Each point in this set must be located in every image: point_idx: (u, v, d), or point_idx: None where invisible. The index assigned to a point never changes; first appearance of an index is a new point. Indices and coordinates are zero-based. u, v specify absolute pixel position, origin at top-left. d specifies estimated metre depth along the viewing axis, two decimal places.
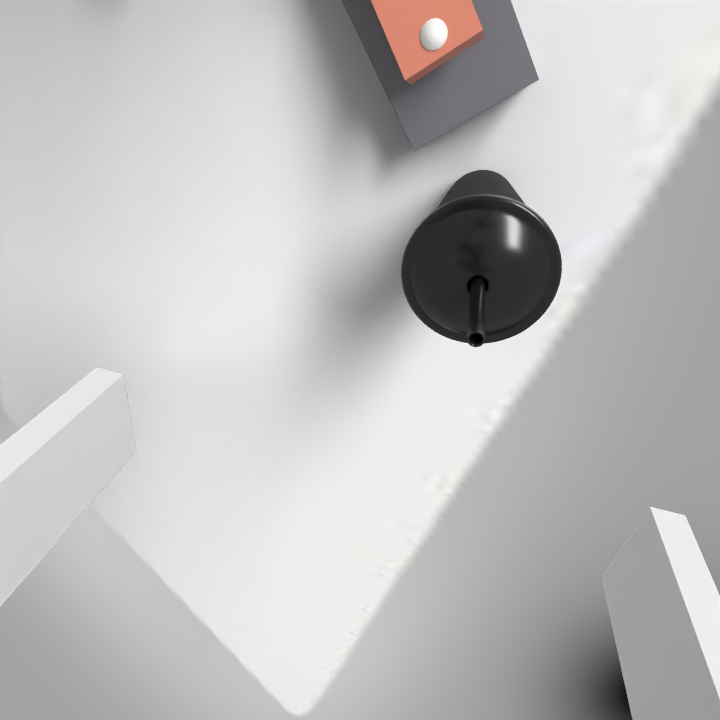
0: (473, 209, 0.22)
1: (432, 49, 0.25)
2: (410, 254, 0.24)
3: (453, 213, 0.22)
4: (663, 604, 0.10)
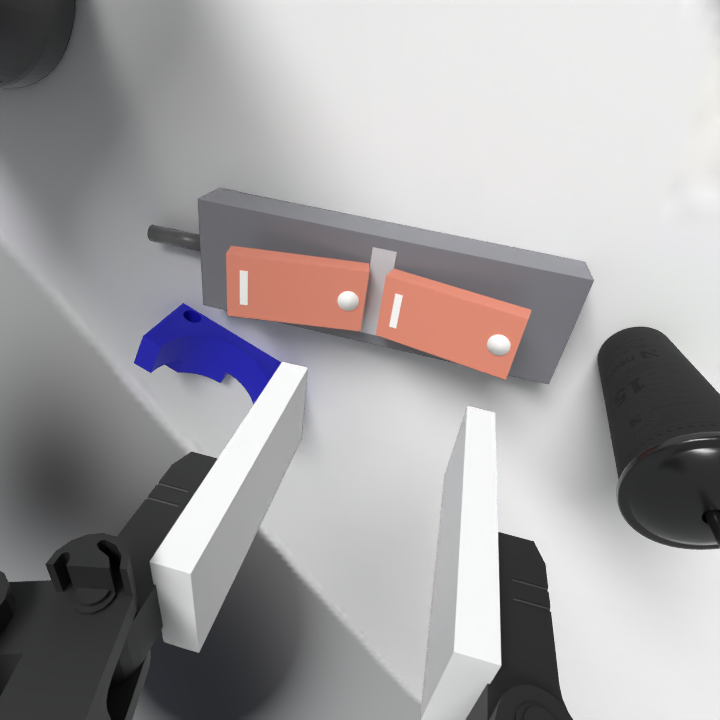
0: (650, 468, 0.23)
1: (506, 351, 0.30)
2: (631, 518, 0.25)
3: (636, 479, 0.24)
4: (458, 474, 0.12)
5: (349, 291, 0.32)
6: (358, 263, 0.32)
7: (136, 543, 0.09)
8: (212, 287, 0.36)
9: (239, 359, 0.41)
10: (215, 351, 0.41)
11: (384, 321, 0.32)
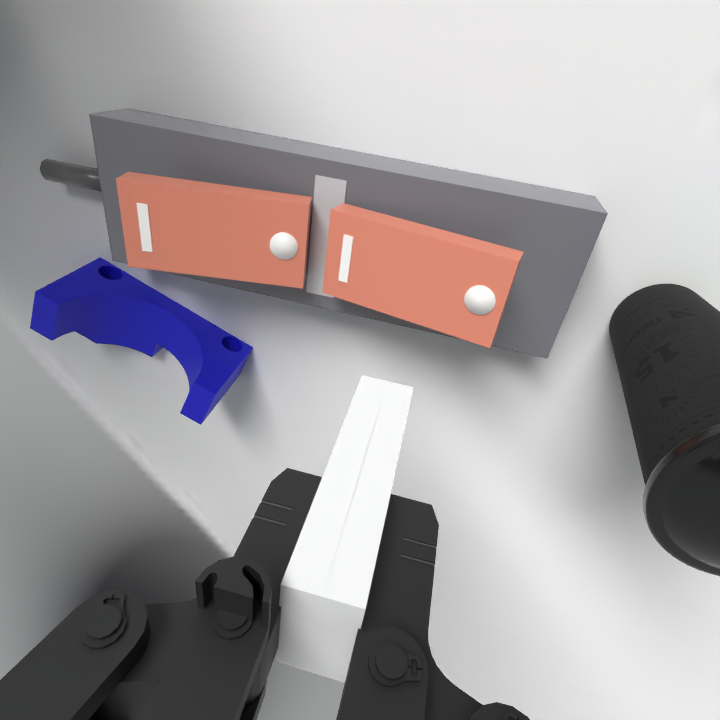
0: (696, 465, 0.16)
1: (490, 309, 0.22)
2: (664, 537, 0.18)
3: (675, 481, 0.16)
4: None
5: (285, 232, 0.24)
6: (296, 196, 0.24)
7: None
8: (120, 236, 0.28)
9: (171, 325, 0.33)
10: (140, 316, 0.33)
11: (331, 274, 0.25)
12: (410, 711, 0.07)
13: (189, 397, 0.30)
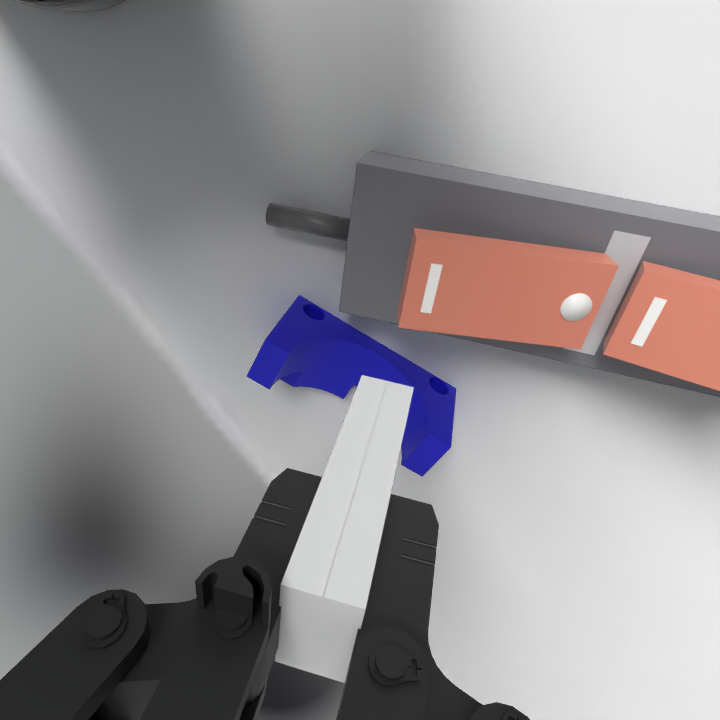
0: None
1: None
2: None
3: None
4: None
5: (582, 293, 0.22)
6: (593, 253, 0.22)
7: None
8: (356, 287, 0.26)
9: (375, 367, 0.31)
10: (343, 358, 0.31)
11: (622, 336, 0.23)
12: (410, 711, 0.07)
13: (417, 449, 0.28)
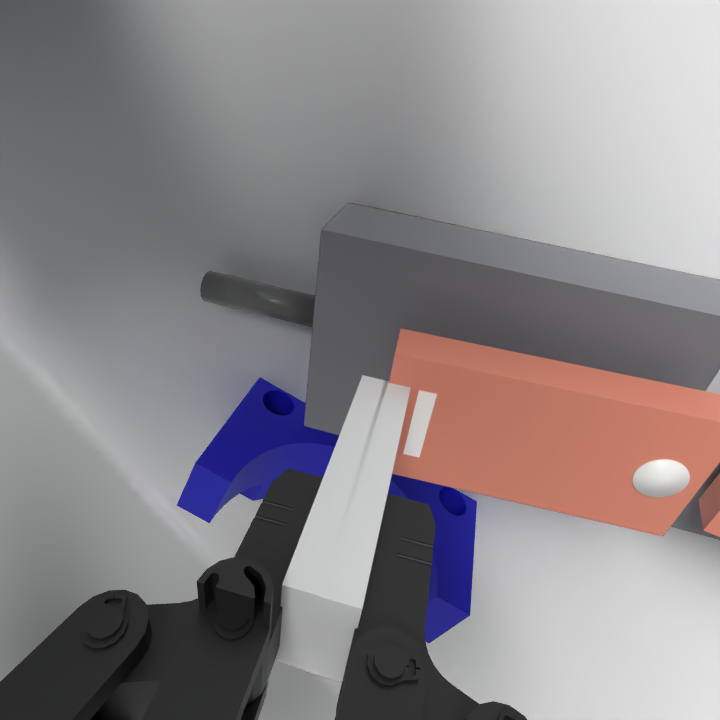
0: None
1: None
2: None
3: None
4: None
5: (673, 460, 0.13)
6: (698, 394, 0.13)
7: None
8: (327, 398, 0.18)
9: None
10: (319, 464, 0.23)
11: None
12: (408, 710, 0.07)
13: None
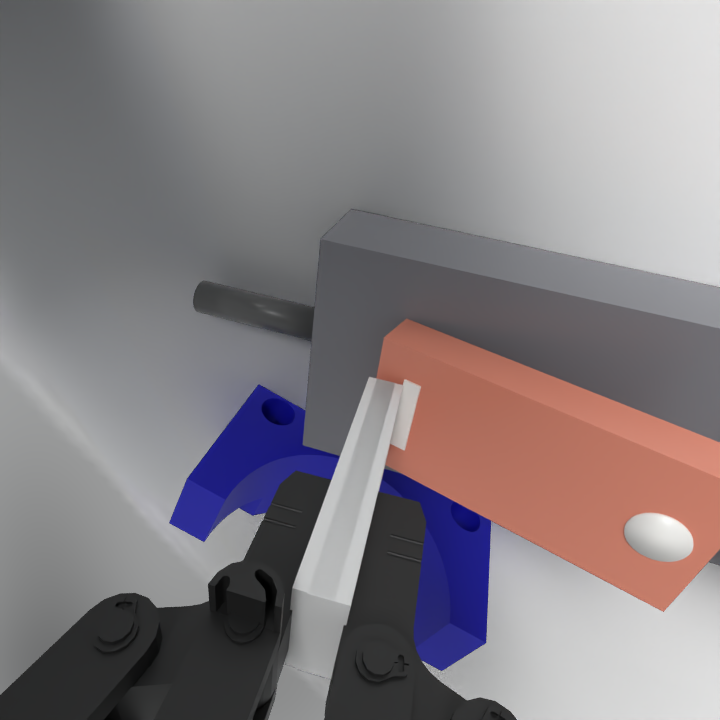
0: None
1: None
2: None
3: None
4: None
5: (673, 517, 0.11)
6: None
7: None
8: (327, 417, 0.17)
9: None
10: (323, 477, 0.21)
11: None
12: (397, 706, 0.07)
13: (433, 638, 0.18)
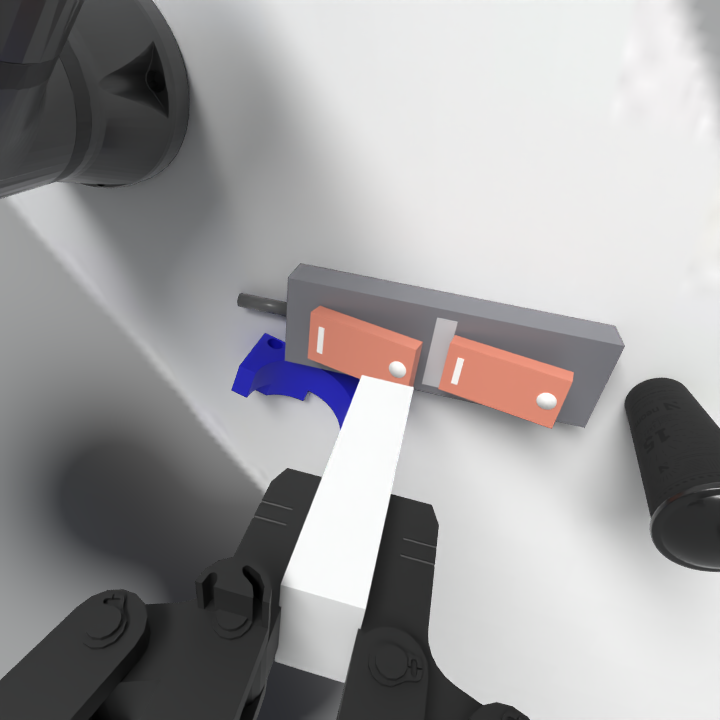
0: (678, 509, 0.29)
1: (552, 406, 0.36)
2: (661, 548, 0.31)
3: (667, 518, 0.30)
4: None
5: (399, 361, 0.37)
6: (412, 340, 0.37)
7: None
8: (294, 346, 0.42)
9: (320, 377, 0.46)
10: (297, 373, 0.46)
11: (446, 378, 0.39)
12: (410, 711, 0.07)
13: None
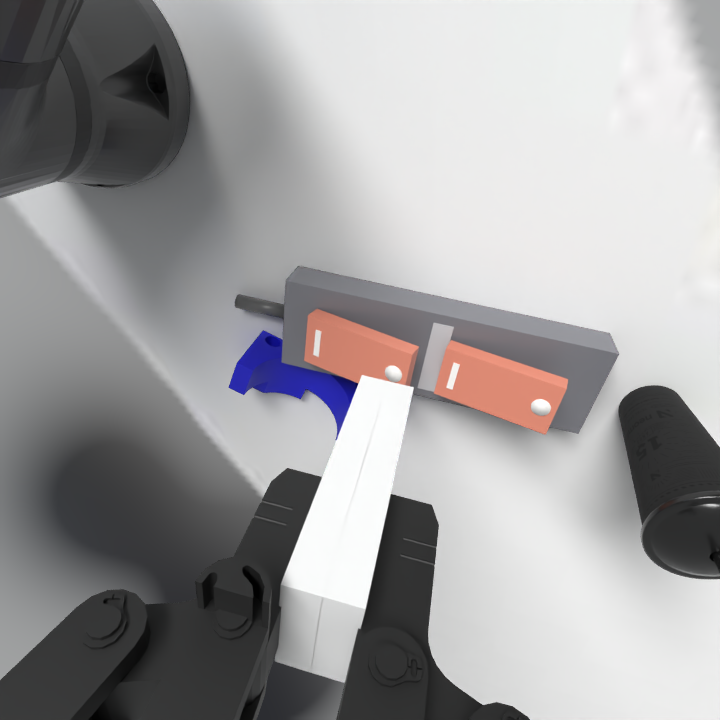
0: (668, 517, 0.30)
1: (546, 412, 0.36)
2: (652, 554, 0.32)
3: (658, 525, 0.30)
4: None
5: (395, 366, 0.37)
6: (409, 344, 0.37)
7: None
8: (291, 349, 0.42)
9: (317, 375, 0.46)
10: (295, 371, 0.46)
11: (441, 383, 0.39)
12: (410, 711, 0.07)
13: None
